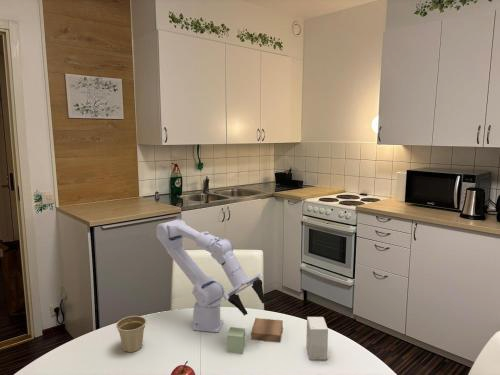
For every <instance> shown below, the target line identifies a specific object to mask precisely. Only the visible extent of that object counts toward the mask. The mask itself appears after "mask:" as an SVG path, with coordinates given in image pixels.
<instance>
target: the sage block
mask: <svg viewBox="0 0 500 375" xmlns="http://www.w3.org/2000/svg"><path fill="white" fill-rule="evenodd" d="M226 346H227V348H226V351H227V353H230V354H231V353H233V354H240V355H241V354H243V353H244V350H245V347H246V328H243V327H234V326H233V327H231V326H230V328H229V330H228V333H227V334H226Z"/></svg>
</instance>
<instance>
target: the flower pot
mask: <svg viewBox="0 0 500 375" xmlns="http://www.w3.org/2000/svg"><path fill="white" fill-rule="evenodd" d="M146 324H147V319H146V318H145V317H144V316H140V315H129V316H125V317H123V318H121V319H120V320H118V321H117V322H116V323H115V326H116V327H115V328H116V329H117V331H118V333H119V337H120V342H121V346H122V350H123V351H125V352H127V353H135V352H137V351H139V350H140V349H142V348H143V343H144V342H143V341H144V334H145V333H144V332H145V327H146Z"/></svg>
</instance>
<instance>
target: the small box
mask: <svg viewBox="0 0 500 375" xmlns="http://www.w3.org/2000/svg"><path fill="white" fill-rule="evenodd" d="M328 339H329V328H328V326H327V323H326V319H325V318H324V316H306V349H307V353H308V358H309V361H311V360H313V361H315V360H317V361H321V360H322V361H326V360H328V345H329V344H328V342H329V341H328Z"/></svg>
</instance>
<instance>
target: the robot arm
mask: <svg viewBox="0 0 500 375" xmlns="http://www.w3.org/2000/svg"><path fill="white" fill-rule="evenodd" d="M155 229H156V238H157V240H158V241H160V243H161V245H162V246H163V247H164V248H165V251H166V252H167V253H168V255H169V256H170V257H171V259H172V260H173V261H174V262H175V264H176V265H177V266H178V268H180V270H181V271H182V272H183V274H184V275H185V276H186V278H188V280H189V281H190V282H191V284H192V285H193V288H192V295H193V296H194V298H195V303H194V305H193V309H192V310H193V311H192V312H193V315H192V316H193V317H192V318H193V322H192V323H193V328H192V330H193V331H200V332H208V333H210V332H211V333H219V332H220V330H221V327H222V325H223V324H224V319H221V302H222V298H223V299H224V300H225V301H228V302H229V303H230V304H231V305H233V306H235V308H237V309H238V310H239V311H240V312H241V313H242V315H243V316H246V315H248V311H247V310H246V308H245V306H244V305H243V302H242V300H241V298H240V296H239V294H238V293H240V292H241V291H243V290H245V289H247V288H248V287H250V286H251V285H252V286H251V288H252V289H253V291H254V293H255V294H256V295H257V297H258V299H259V300H260V302H261V303H262V304H265V303H266V302H267V300H266V297H265V293H264V288H263V281H262V279H263V277H262V276H261V273H257V274H256V275H253V276H252V277H250V278H248V275H247V274H246V271H245V270H244V268H243V267H242V266H241V264H240V262H239V260H238V258H237V257H236V255H235V253H234V244H233V243H232V241H231V240H230V239H228V238H220V237H218V236H215V235H213V234H211V233H210V231H201V232H200V231H198V230H197V229H194V228H193V227H191V226H189V225H187V224H186V221H185V220H182V219H180V218H176V219H174V220H171V221H167V222H163V223H161V222H160V223H159V224H157V226H156V228H155ZM185 238H187V239H189V240H191V241H193V242H195V243H196V246H197V247H198V248H201V250H205V251H206V252H208V253H210V256H211V258H213V260H216V262H217V263H218V264H219V265H220V266H221V267H222V269H223V272H224V273H225V275H226V277H227V279H228V281H229V282H230V284H231V286H232V287H233V288H232V289H230V290H228V291H227V292H225V288H224V286H223V284H222V283H221V282H220V281H218V280H217V279H215V277H212V276H208V275H206V274H205V273H204V272H203V270H202V269H201V268H200V266H198V264H197V263H196V262H195V261H194V260H193V258H192V257H191V256H190V255H189V253H188V252H187V251H186V250H185V249H184V247H183V245H182V243H183V241H184V239H185Z"/></svg>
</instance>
